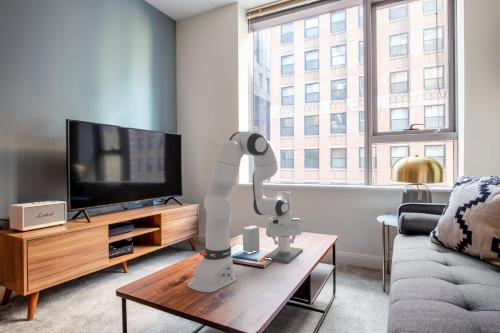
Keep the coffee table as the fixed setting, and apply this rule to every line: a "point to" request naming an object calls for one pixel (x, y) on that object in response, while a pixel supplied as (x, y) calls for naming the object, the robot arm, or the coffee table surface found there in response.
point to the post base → (284, 255)
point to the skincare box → (251, 238)
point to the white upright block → (284, 243)
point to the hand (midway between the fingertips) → (284, 243)
